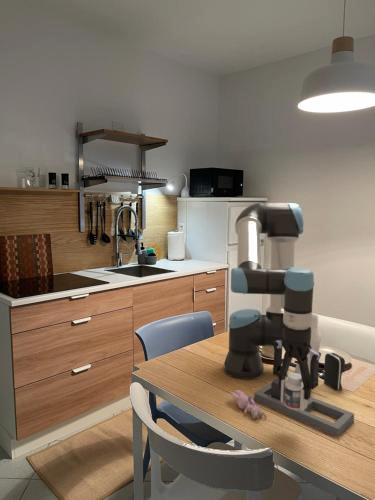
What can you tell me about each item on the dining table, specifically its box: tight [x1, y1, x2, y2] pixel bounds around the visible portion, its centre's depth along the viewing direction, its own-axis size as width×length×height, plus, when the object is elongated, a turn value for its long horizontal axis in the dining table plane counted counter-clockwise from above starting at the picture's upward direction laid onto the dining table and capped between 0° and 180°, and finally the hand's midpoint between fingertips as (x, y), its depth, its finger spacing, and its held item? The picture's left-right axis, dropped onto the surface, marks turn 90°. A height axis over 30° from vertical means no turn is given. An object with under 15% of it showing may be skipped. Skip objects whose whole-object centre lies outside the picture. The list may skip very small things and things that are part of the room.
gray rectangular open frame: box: [253, 377, 355, 438], centre depth 119 cm, size 28×11×7 cm, turn 45°
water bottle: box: [294, 313, 322, 375], centre depth 137 cm, size 7×7×25 cm
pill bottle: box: [284, 372, 303, 410], centre depth 107 cm, size 5×5×9 cm
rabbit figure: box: [230, 389, 267, 423], centre depth 119 cm, size 6×6×15 cm
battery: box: [323, 352, 346, 391], centre depth 135 cm, size 7×4×11 cm, turn 20°
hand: (293, 404), depth 108 cm, fingers closed on pill bottle, 5 cm apart
